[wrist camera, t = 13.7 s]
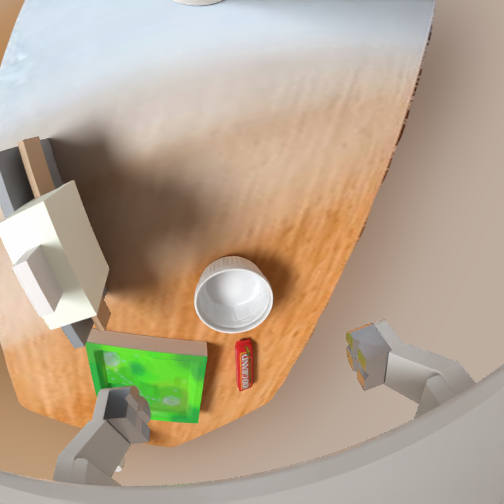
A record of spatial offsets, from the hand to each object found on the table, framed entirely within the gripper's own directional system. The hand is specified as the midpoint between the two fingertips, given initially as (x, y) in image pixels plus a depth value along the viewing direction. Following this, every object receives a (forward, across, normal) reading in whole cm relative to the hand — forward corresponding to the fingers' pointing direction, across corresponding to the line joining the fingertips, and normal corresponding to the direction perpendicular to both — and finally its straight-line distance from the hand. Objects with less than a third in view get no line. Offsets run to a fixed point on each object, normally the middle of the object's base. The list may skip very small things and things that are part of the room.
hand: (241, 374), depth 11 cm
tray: (+42, +27, +40) cm, 64 cm away
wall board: (+41, +26, +1) cm, 49 cm away
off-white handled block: (+31, +21, +1) cm, 38 cm away
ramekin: (+41, +2, +21) cm, 46 cm away
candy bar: (+42, +5, +42) cm, 60 cm away
